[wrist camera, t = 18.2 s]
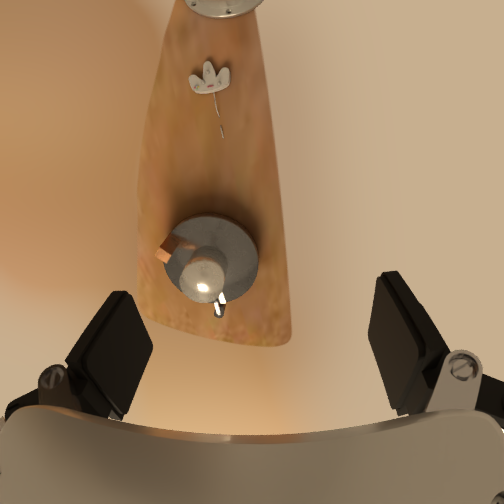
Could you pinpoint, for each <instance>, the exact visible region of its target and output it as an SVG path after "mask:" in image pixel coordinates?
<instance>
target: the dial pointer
mask: <svg viewBox="0 0 504 504" xmlns="http://www.w3.org/2000/svg"><path fill="white" fill-rule="evenodd" d="M214 304H215V312H214V315H215V317H217V318H222V317H223V315H224V311H225V306H226V303H221V304H220V303H219V301H215V302H214Z"/></svg>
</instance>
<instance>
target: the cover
mask: <svg viewBox="0 0 504 504" xmlns="http://www.w3.org/2000/svg"><path fill="white" fill-rule="evenodd" d="M227 270H228V260H227V258H226V256H225V254H224V253H223V252H222V251H221V250H219V249H218V248H216V247H213V246H202V247H199V248H197V249H196V250H194V252H193V253H192V254H191V256H190V258H189V260H188V262H187V264H186V266H185V268H184V270H183V272H182V274H181V276H180V280H179V283H180V287H181V290H182V291H183V293H184V294H185V295H186V296H187V297H188V298H190V299H191V300H193V301H196V302H200V303H208V302H212V301H214V300H216V299H217V298H218V297H219V296H220V295H221V293H222V289H223V285H224V281H225V277H226V273H227Z"/></svg>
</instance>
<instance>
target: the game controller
mask: <svg viewBox="0 0 504 504" xmlns="http://www.w3.org/2000/svg"><path fill="white" fill-rule="evenodd" d="M203 79H204V80H201V79H200V78H198V77H197V76H196V75H191V76H190V77H189V82H190V85H191V88H192V89H193V90H194V91H195V92H196V93H200V94H206V93H213V94H214V92H216V91H219V90H222V89H224V88H226V87H227V86H228V85H229V84H230V71H229V69H228V68H226V67H224V68H222V69H221V70H220V72H219V74H218V75H216V72H215V70H214V68H213V65H212V64H211V62H209V61H206V62H205V63H204V66H203ZM214 99H215V94H214ZM215 106H216V101H215ZM216 110H217V106H216ZM217 113H218V111H217ZM218 116H219V113H218ZM220 127H221V125H220ZM221 132H222V128H221ZM222 137H223V133H222ZM223 138H224V137H223Z"/></svg>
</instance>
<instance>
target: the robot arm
mask: <svg viewBox="0 0 504 504" xmlns="http://www.w3.org/2000/svg"><path fill="white" fill-rule="evenodd" d="M262 1H263V0H185V2H186V4H187V5H188V6H189V8H190V9H192V10H193V11H194V12H196V13H198V14H200V15H202V16H205V17H209V18H223V19H224V18H232V17H236V16H240V15H243V14H245V13H248V12H250V11H251V10H253V9H255V8H256V7H257V6H258V5H260V4H261V3H262ZM194 5H196V6H194ZM229 12H231V13H230V14H228V13H229ZM368 339H369V342H370V344H371V347H372V350H373V353H374V356H375V359H376V362H377V365H378V368H379V371H380V374H381V377H382V380H383V383H384V386H385V389H386V393H387V396H388V399H389V402H390V406H391V408H392V409H396V411H397V415H398V416H401V415H405V414H409V416H406V417H401V418H397V419H392V420H388V421H383V422H378V423H373V424H368V425H362V426H356V427H349V428H343V429H336V430H328V431H320V432H310V433H300V434H299V433H298V434H282V435H220V434H219V435H218V434H203V433H192V432H182V431H173V430H166V429H158V428H152V427H146V426H140V425H135V424H130V423H125V422H120V421H122V419H123V416H124V414H127V412H128V411H129V408H130V405H131V403H132V400H133V398H134V395H135V392H136V390H137V387H138V385H139V382H140V380H141V377H142V375H143V372H144V370H145V367H146V365H147V363H148V360H149V358H150V356H151V353H152V350H153V344H152V341H151V339H150V337H149V335H148V332H147V330H146V328H145V326H144V323H143V321H142V319H141V316H140V314H139V312H138V309H137V307H136V304H135V302H134V300H133V297H132V295H130V294H128V292H127V291H113V292H112V293H111V294H110V296H109V297H108V298H107V299H106V301H105V302H104V304H103V305H102V306H101V308H100V309H99V310H98V312H97V313H96V315H95V316H94V317H93V319H92V320H91V322H90V323H89V325H88V326H87V328H86V329H85V330H84V332H83V333H82V335H81V336H80V338H79V340H78V341H77V342H76V344H75V345H74V347H73V348H72V350H71V352H70V353H69V355H68V356H67V358H66V359H65V362H66V363H67V365H68V367H67V369H66V368H65V367H64V366H63V365H60V364H55V365H51V366H49V367H48V368H46V369H45V370H44V371H43V372H42V373H41V375H40V377H39V379H38V388H37V389H35V390H33V391H31V392H29V393H27V394H25V395H23V396H21V397H19V398H17V399H15V400H13V401H12V402H10V403H9V404H8V406H7V408H6V411H5V418H4V417H3V416H2V418H0V504H504V382H502V381H500V380H497V379H495V378H492V377H490V376H487V375H485V374H482V365H481V362H480V360H479V359H478V357H477V356H475V355H474V354H473V353H471V352H469V351H466V350H455V351H453V352H450V350H449V348H448V346H447V345H446V343H445V341H444V340H443V338H442V336H441V334H440V333H439V331H438V330H437V328H436V326H435V325H434V323H433V321H432V320H431V318H430V317H429V315H428V313H427V312H426V311H425V309H424V307H423V306H422V305H421V304H420V303H419V302H418V300H417V299H416V297H415V296H414V294H413V293H412V291H411V290H410V288H409V287H408V285H407V284H406V283H405V281H404V280H403V278H402V277H401V275H400V274H399V272H398V271H389V272H383V273H382V274H381V276H380V277H377V280H376V287H375V294H374V300H373V307H372V313H371V318H370V324H369V329H368ZM108 417H110V418H111V419H115V420H111V419H108ZM116 420H120V421H116Z"/></svg>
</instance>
